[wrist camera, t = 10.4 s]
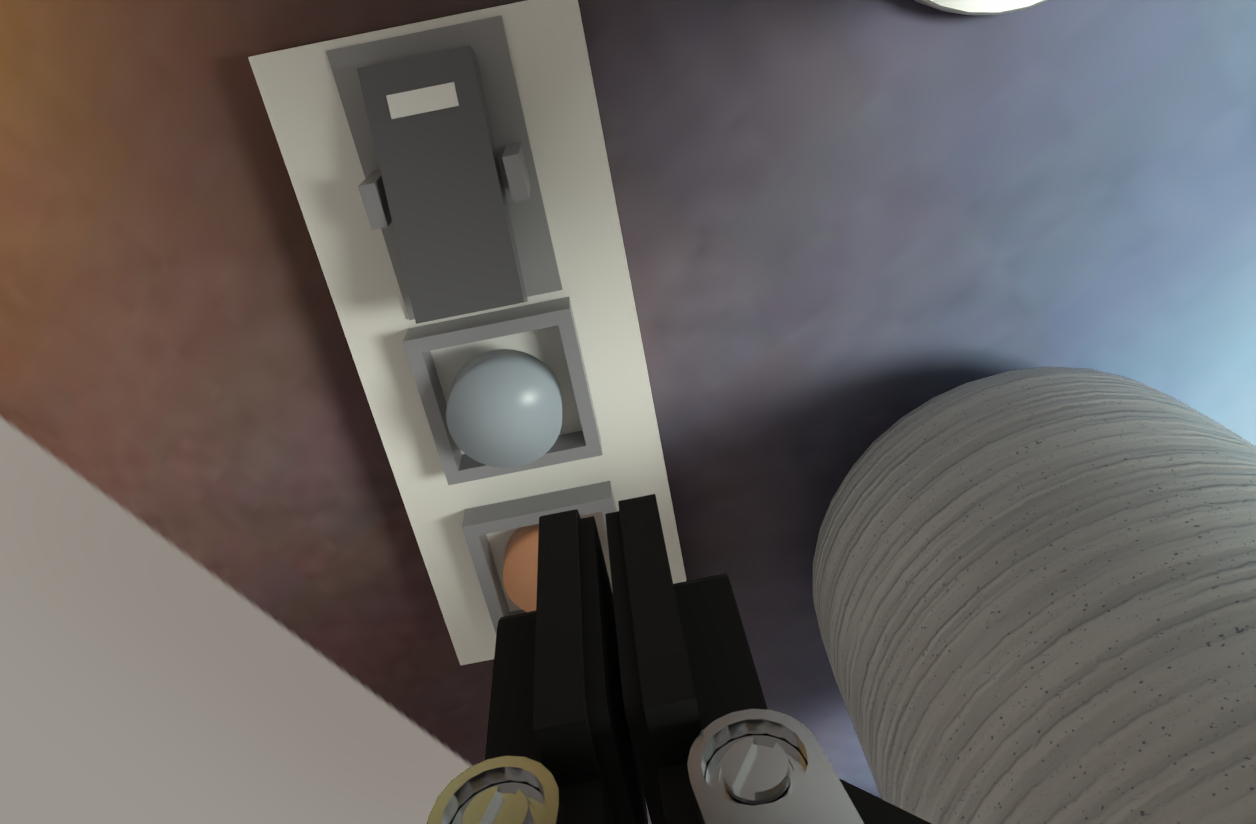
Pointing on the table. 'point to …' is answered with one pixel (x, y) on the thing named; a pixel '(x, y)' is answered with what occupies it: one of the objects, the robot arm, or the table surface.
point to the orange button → (522, 567)
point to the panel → (437, 350)
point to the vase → (1049, 605)
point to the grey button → (505, 408)
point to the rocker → (443, 183)
